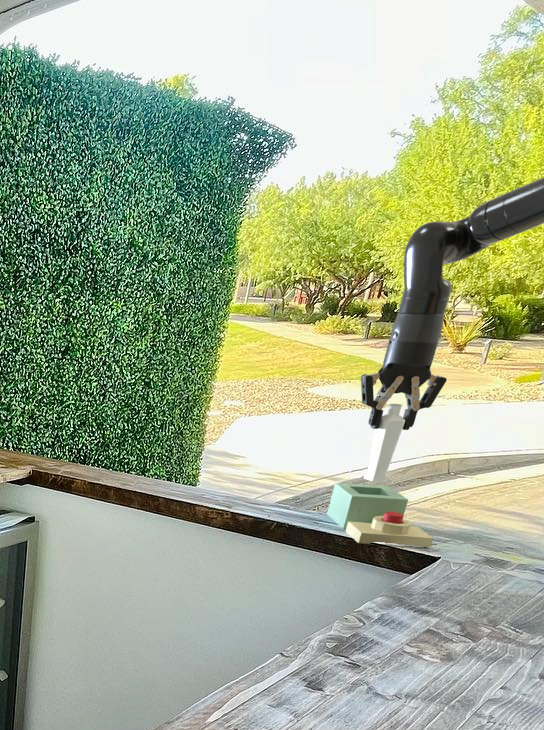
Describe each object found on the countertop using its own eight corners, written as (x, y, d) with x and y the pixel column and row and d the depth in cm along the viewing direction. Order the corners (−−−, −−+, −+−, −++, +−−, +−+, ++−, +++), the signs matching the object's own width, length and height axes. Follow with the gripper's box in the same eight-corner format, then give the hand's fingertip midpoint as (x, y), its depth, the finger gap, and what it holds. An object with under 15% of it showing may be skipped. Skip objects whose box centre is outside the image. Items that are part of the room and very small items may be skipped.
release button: (397, 520, 148) (400, 512, 147) (403, 525, 145) (406, 516, 145) (379, 519, 149) (382, 510, 148) (386, 524, 146) (388, 515, 145)
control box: (413, 536, 150) (419, 517, 149) (430, 549, 144) (436, 529, 142) (345, 531, 153) (350, 512, 151) (358, 543, 147) (363, 523, 145)
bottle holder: (378, 518, 161) (388, 486, 158) (398, 533, 152) (408, 499, 149) (326, 514, 163) (335, 482, 160) (343, 529, 154) (352, 496, 152)
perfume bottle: (361, 475, 157) (380, 401, 151) (386, 478, 155) (407, 403, 149) (362, 480, 153) (382, 405, 147) (388, 483, 151) (409, 407, 145)
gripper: (448, 337, 145) (422, 426, 152) (363, 336, 148) (341, 423, 155) (468, 340, 138) (440, 434, 145) (378, 339, 142) (354, 431, 148)
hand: (389, 428), depth 150 cm, fingers closed on perfume bottle, 4 cm apart
